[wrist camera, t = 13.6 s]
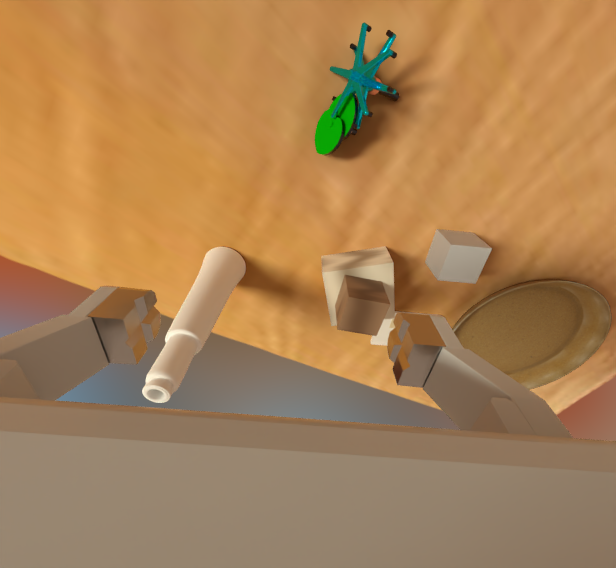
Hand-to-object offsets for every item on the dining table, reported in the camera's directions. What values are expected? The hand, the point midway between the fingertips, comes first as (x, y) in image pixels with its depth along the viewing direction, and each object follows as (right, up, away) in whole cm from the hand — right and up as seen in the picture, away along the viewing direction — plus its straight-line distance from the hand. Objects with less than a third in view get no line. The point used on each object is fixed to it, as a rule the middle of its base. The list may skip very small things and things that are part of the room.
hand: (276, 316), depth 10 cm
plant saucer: (+35, -7, +39) cm, 53 cm away
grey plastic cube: (+20, +6, +30) cm, 37 cm away
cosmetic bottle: (-11, +4, +32) cm, 34 cm away
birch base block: (+8, +2, +33) cm, 34 cm away
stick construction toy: (+6, +21, +22) cm, 31 cm away
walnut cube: (+8, 0, +29) cm, 30 cm away
